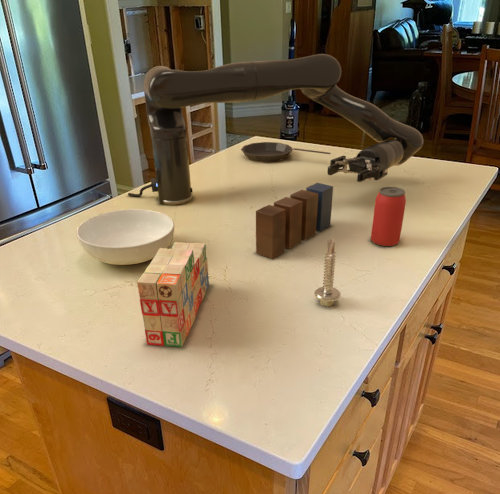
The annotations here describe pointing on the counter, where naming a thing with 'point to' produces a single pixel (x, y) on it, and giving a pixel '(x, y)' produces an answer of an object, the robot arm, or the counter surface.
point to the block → (323, 204)
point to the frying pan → (270, 151)
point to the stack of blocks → (173, 292)
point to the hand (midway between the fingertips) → (343, 174)
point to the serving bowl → (126, 235)
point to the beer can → (388, 216)
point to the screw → (328, 278)
